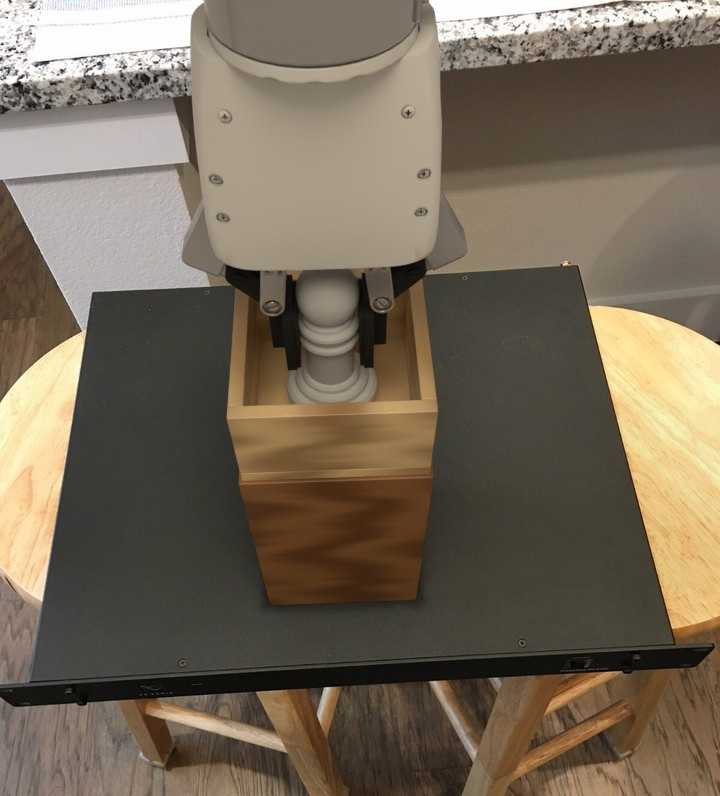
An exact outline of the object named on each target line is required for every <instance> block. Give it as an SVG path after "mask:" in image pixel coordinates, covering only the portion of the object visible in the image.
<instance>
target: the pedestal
mask: <svg viewBox="0 0 720 796" xmlns="http://www.w3.org/2000/svg"><path fill="white" fill-rule="evenodd" d="M434 477H435V476H434V469H433V461H432V462H431V468H430V474H422V475H394V476H367V477H339V478H312V479H284V480H256V481H242V478H241V474H240V470H239V472H238V487H239V490H240V495H241V499H242V502H243V506H244V511H245V514H246V518H247V522H248V526H249V529H250V533H251V536H252V541H253V545H254V549H255V552H256V556H257V560H258V564H259V567H260V568H259V569H260V572H261V576H262V579H263V583H264V587H265V591H266V594H267V598H268V602H269V605H270V606H289V605H292V606H293V605H316V604H318V605H319V604H341V603H342V604H343V603H367V602H368V603H370V602H371V603H372V602H390V601H391V602H394V601H415V600H417V595H418V589H419V581H420V575H421V570H422V569H421V567H422V561H423V553H424V547H425V541H426V533H427V527H428V521H429V520H428V519H429V513H430V504H431V499H432V490H433V485H434Z"/></svg>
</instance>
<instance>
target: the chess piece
mask: <svg viewBox="0 0 720 796" xmlns="http://www.w3.org/2000/svg"><path fill="white" fill-rule="evenodd" d="M295 294H296V302H297V305H298V308H299V310H300V312H299V314H298V327H299V336H300V342H301V344H302V345H303V347H304V348H305V349H306V354H304V355H303V356H301V368H298V369H297V370H290V371H289V373H288V376H287V380H286V390H287V394H288V396H289V398H290V400H291V402H292V403H293V404H320V403H349V402H372V401H373V399H374V397H375V395H376V392H377V388H378V379H377V375H376V372H375V370H374V368H364V366H360V354H359V353H357V352H355V351H354V347H355V345H356V344H357V342H358V340H359V312H358V310H357V306H358V303H359V297H360V290H359V284H358V281H357V278H356V276H355V274H354V273H353V271H352V270H351V269H322V270H303V271H302V272H301V274H300V275H299V277H298V280H297V283H296V290H295Z"/></svg>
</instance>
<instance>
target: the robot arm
mask: <svg viewBox="0 0 720 796" xmlns="http://www.w3.org/2000/svg"><path fill="white" fill-rule="evenodd" d="M189 31H190V33H189V35H190V36H189V56H190V86H191V87H190V89H191V105H192V106H191V107H192V120H193V131H194V140H195V141H194V142H195V150H196V158H197V167H198V175H199V182H200V189H201V191H200V192H201V199H200V201H199V204H198V206H197V208H196V211H195V213H194V214H193V217H192V219H191V221H190V223H189V226H188V227H187V230H186V232H185V235H184V237H183V243H182V250H181V260H182V262H183V263H184V264H185V265H187V266H188V267H190V268H192V269H195V270H199V271H201V272H204V273H207V274H209V275H211V276H215V277H217V278H219V277H223V278H225V281H226V282H227V283H228V284H229V285H230V286H232V287H234V288H235V289H236V288H237V289H238V290H240V291H242V292H243V293H245V294H246V295H248V296H249V297H251V298H253V299H254V300H256V301H257V302H259V303H260V310H261V311H262V313H264V314H265V315H267V316H269V321H270V328H271V335H272V342H273V348H285V352H286V360H287V368H288V370H297V369H298V368H301V342H300V336H299V327H298V314H299V308H298V305H297V302H296V294H295V290H296V283H297V281H293V277H292V275H287V271H294V270H322V269H358V268H364V270H365V273H362V279H358V284H359V290H360V297H359V303H358V312H359V352H360V366H364V368H373V367H374V345H381V344H386V335H387V312H389V311H391V310H392V309H393V307H394V304H395V301H394V299H396V298H397V297H398V296H400V295H401V294H402V293H404V292H405V291H406V290H408V289H409V288H410V287H412V286H413V285H414V284H416V283H417V282H418V281H420V280H421V279H422V280H423V278H424V277H425V276H426V275H427V272H429V271H436V270H438V269H440V268H442V267H445V266H447V265H450V264H451V263H454V262H456V261H458V260H460V259H462V258H464V257H465V256H466V255H467V253H468V244H467V239H466V232H465V229H464V227H463V225H462V224H461V221H460V220H459V218H458V216H457V215H456V213H455V211H454V209H453V208H452V206H451V204H450V203H449V201H448V199H447V197H446V195H445V193H444V192H443V190H442V188H441V186H442V185H441V181H442V180H441V179H442V151H443V119H442V117H443V116H442V99H441V98H442V97H441V52H440V41H439V33H438V31H439V30H438V24H437V17H436V12H435V8H434V7H433V5H432V4H431V3H430V0H203V1H202V3H201V4H199V5H198V6H197V7H196V8H195V9H194V11H193V13H192V15H191V17H190V30H189Z"/></svg>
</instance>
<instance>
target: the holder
mask: <svg viewBox="0 0 720 796" xmlns="http://www.w3.org/2000/svg"><path fill="white" fill-rule="evenodd" d="M351 270H352V271H353V273H354V274H355V276H356V278H357V281H358V279H362V273H365V270H364V268H352V269H351ZM302 271H303V270H287V275H292V277H293V281H297V280H298V277H299V275H300V274H301V272H302ZM394 301H395V304H394V307H393V309H392V310H391V311H389V312H387V335H386V344H381V345H374V367H373V368H374V370H375V372H376V375H377V379H378V388H377V392H376V395H375V397H374V399H373V401H372V402H349V403H320V404H293V403H292V402H291V400H290V398H289V396H288V394H287V390H286V380H287V376H288V373H289V371H290V370H288V368H287V360H286V352H285V348H273V342H272V335H271V328H270V321H269V316H267V315H265V314H264V313H262V311H261V310H260V303H259V302H257V301H256V300H254V299H253V298H251V297H249V296H248V295H246V294H245V293H243V292H242V291H240V290H238V289H237V288H235V293H234V305H233V307H234V308H233V321H232V335H231V336H232V337H231V347H230V348H231V349H230V364H229V379H228V380H229V382H228V393H227V394H228V395H227V406H226V422H227V426H228V431H229V433H230V438H231V442H232V446H233V450H234V453H235V458H236V462H237V466H238V469H239V470H240V474H241V478H242V481H256V480H284V479H312V478H339V477H367V476H394V475H422V474H430V468H431V462H432V463H433V454H434V446H435V445H434V444H435V439H436V431H437V425H438V417H439V405H438V400H437V399H438V397H437V390H436V380H435V373H434V366H433V365H434V364H433V357H432V348H431V340H430V332H429V323H428V316H427V308H426V299H425V291H424V283H423V278H422V279H421V280H420V281H418V282H417V283H416V284H414V285H413V286H412V287H410V288H409V289H408V290H406V291H405V292H404V293H402V294H401V295H400V296H398V297H397V298H396V299H394ZM357 310H358V306H357ZM299 312H300V310H299ZM354 351H355V352H357V353H359V354H360V352H359V340H358V342H357V344H356V345H355V347H354ZM304 354H306V349H305V348H304V347H303V345H302V344H301V356H303V355H304Z"/></svg>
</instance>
